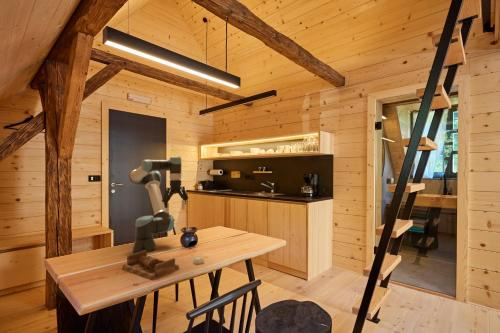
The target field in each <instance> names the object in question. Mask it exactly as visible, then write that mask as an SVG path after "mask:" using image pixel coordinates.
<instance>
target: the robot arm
mask: <svg viewBox="0 0 500 333" xmlns="http://www.w3.org/2000/svg"><path fill="white" fill-rule="evenodd" d="M182 163H183V162H182V158H181V156H170V157H169V159H143V160H141V163H140V166H139V167H137V169H133V170H132V171H131V172H129V175H128V179H129V181H130V182H131V183H132V184H134V185H136V186H144V188H145V189H146V190H147V191H148V195H149V199H150V203H151V206H152V210H153V213H154V214H153V215H143V216H140V217H138V218H136V219H135V225H134V226H135V227H134V229H135V240H134V244H133V247H132V253H133V254H135V253H138V252H141V251H144V250H146V251H147V254H148V253H151V252H155V250H156V249H157V245H156V243H155V240H154V235H156V234H161V233H167V232H170V231H173V229H174V225H175V218H174V216H173V215H172V214H170V202H169V201H170V200H171V198H172V197H173V195H176V194H177V195H178V196H180V199H181V210H182V211H186V205H187V204H186V203H187V201H188V199H189V196H188V194H187V192H186V189H185V188H186V187H185V185H184V186H183V185H182ZM160 171H161V172H163V171H167V172H169V187H166V188H165V192H164V195H162V192H161V189H160V186H161V183H162V175H161V173H160ZM162 196H163V197H162Z"/></svg>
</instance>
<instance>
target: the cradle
mask: <svg viewBox="0 0 500 333" xmlns="http://www.w3.org/2000/svg"><path fill="white" fill-rule="evenodd" d="M141 256H147V257H151V258H155V259H158V260H159V263H158V264H156V265H155V268H154V269H152V270H150V269H149V268H147V267H146V266H145V265H143V264H142V263H140V262H139V258H140V257H141ZM121 269H122V270H123V271H126V272H129V273H131V274H135V275H138V276H141V277H143V278H145V279H149V280H152V281H153V280H156V279H158V278H160V277H163V276H165V275H168V274H171V273H173V272H176V271H178V270H180V265H179V264H177V263H176V258H170V259H168V260H163V259H160V258H156V257H153V256H149V255H148V253H147V251H146V250H144V251H141V252H138V253H132V254H129V255H127V256H126V264H125V263H124V264H122V268H121Z"/></svg>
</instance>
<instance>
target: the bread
mask: <svg viewBox="0 0 500 333" xmlns="http://www.w3.org/2000/svg"><path fill="white" fill-rule="evenodd" d="M151 257H152V256H150V257H148V255H147V256H141V257H140V258H139V262H140V263H142V264H143V265H145V266H146V267H147V268H149V269H150V270H152V269H154V268H155V265H156V264H158V263H159V260H158V259H159V258H157V259H155V258H156V257H154V258H151Z"/></svg>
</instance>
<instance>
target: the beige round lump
mask: <svg viewBox="0 0 500 333" xmlns="http://www.w3.org/2000/svg"><path fill="white" fill-rule="evenodd" d="M204 259H205V258H204V256H203V255H202V256H201V255H198V256H197V255H196V256H193V257H192V264H193V265H202V264H203V263H204V262H205V260H204Z"/></svg>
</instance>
